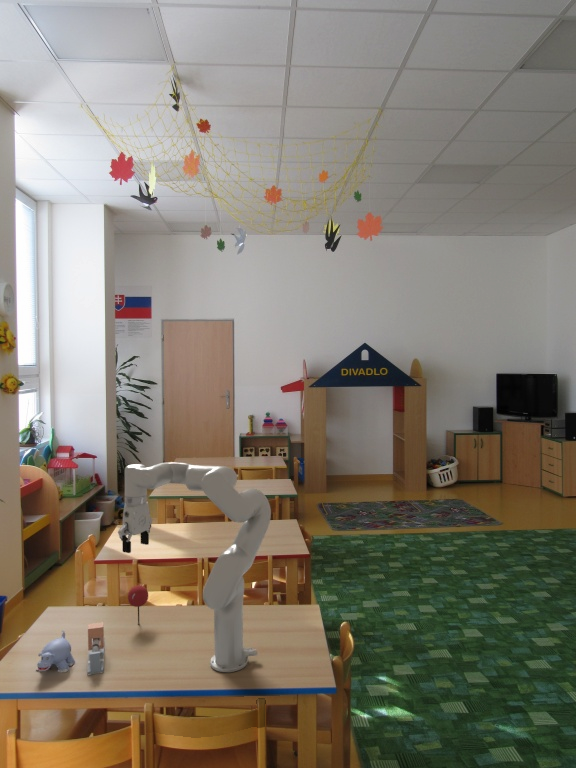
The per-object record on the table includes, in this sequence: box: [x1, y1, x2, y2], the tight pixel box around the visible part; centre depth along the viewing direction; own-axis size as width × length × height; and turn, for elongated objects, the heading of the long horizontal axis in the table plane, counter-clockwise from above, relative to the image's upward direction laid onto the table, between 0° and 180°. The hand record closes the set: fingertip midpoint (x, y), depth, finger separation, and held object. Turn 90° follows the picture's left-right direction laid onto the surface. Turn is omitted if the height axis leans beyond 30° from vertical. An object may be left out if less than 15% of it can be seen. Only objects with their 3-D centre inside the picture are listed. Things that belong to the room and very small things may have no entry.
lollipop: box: [127, 585, 149, 625], centre depth 227 cm, size 8×8×15 cm
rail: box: [86, 638, 105, 676], centre depth 203 cm, size 5×23×7 cm, turn 16°
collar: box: [87, 621, 105, 652], centre depth 204 cm, size 5×4×8 cm
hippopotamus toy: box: [36, 630, 76, 673], centre depth 195 cm, size 11×15×10 cm
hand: (135, 548), depth 207 cm, fingers open, 9 cm apart
